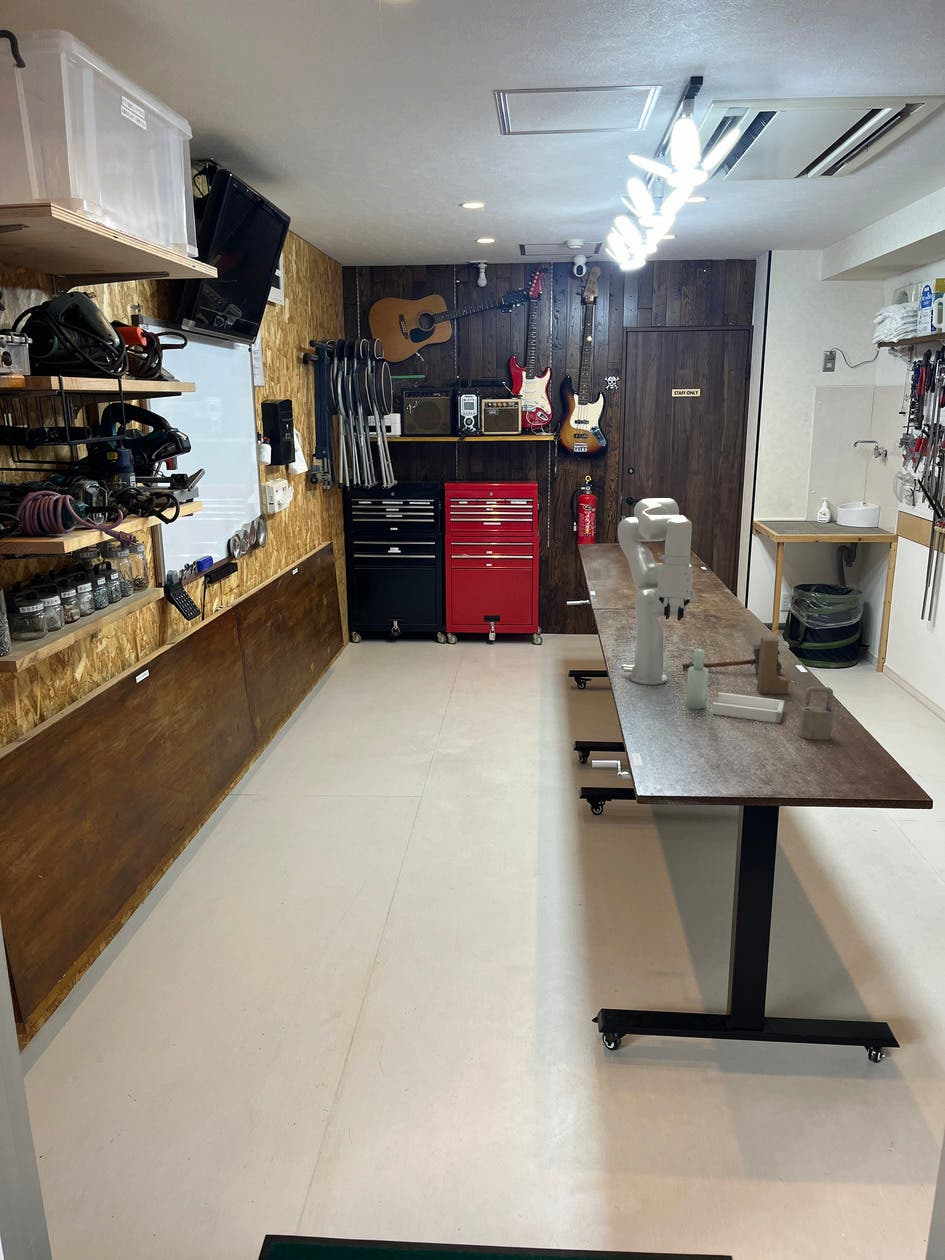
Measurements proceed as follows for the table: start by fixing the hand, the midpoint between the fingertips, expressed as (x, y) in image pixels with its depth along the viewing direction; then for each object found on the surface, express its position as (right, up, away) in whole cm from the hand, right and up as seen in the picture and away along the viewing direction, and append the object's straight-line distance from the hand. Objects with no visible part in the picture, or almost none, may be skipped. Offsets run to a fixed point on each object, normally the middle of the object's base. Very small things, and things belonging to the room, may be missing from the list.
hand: (673, 618), depth 277 cm
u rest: (+22, -29, -2) cm, 36 cm away
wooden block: (+36, -24, +17) cm, 46 cm away
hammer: (+28, -19, +37) cm, 50 cm away
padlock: (+35, -34, -21) cm, 53 cm away
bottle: (+8, -27, +4) cm, 29 cm away
